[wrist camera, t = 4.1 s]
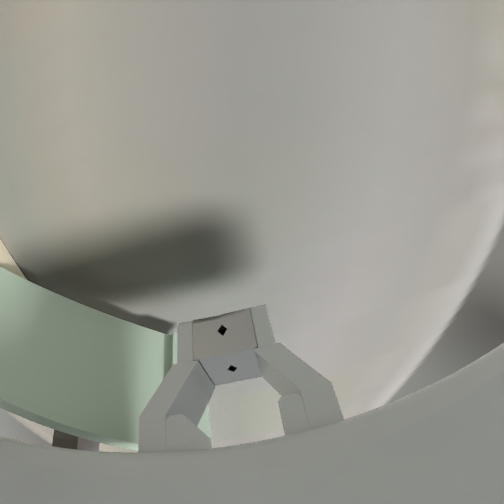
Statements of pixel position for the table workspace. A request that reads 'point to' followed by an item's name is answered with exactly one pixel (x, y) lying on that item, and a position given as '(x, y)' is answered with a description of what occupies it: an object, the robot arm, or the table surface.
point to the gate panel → (78, 365)
